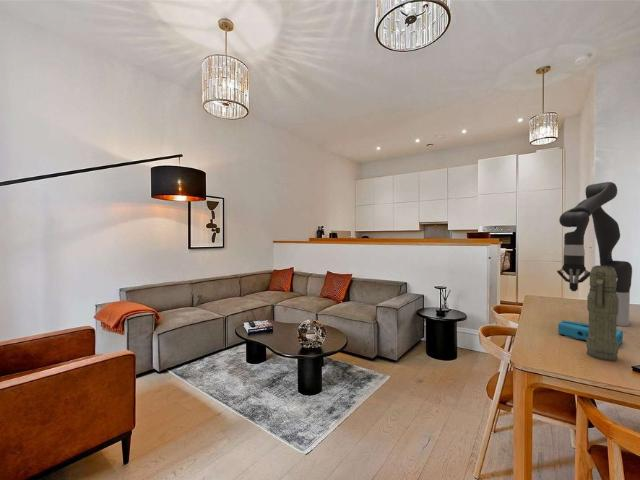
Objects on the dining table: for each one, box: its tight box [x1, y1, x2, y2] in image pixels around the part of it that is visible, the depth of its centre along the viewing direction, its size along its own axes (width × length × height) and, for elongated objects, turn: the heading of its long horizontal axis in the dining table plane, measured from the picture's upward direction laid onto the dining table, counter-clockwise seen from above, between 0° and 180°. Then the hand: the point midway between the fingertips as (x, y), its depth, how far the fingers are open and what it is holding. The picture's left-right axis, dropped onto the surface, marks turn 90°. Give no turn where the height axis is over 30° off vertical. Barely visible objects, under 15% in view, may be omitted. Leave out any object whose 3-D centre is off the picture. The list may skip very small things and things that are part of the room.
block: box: [557, 320, 624, 347], centre depth 133 cm, size 12×5×20 cm
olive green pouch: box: [586, 265, 619, 362], centre depth 114 cm, size 9×12×35 cm
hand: (573, 290), depth 140 cm, fingers closed
